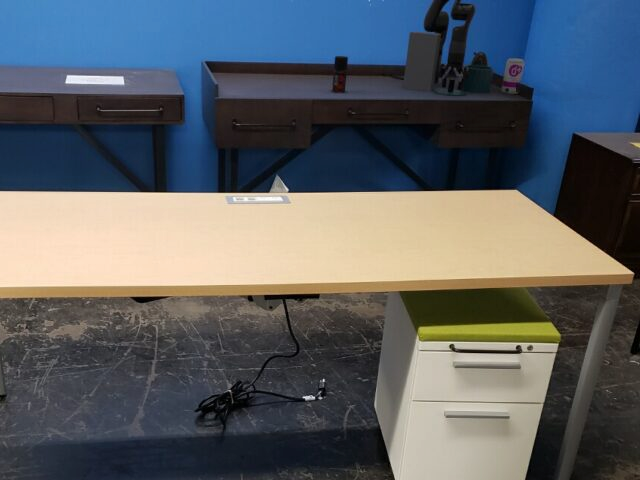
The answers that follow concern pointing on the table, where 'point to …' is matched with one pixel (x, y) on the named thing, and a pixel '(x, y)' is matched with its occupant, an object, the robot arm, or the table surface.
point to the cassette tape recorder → (421, 60)
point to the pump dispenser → (479, 59)
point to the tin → (478, 79)
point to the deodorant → (340, 74)
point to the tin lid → (450, 90)
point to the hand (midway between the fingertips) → (451, 88)
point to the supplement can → (512, 75)
